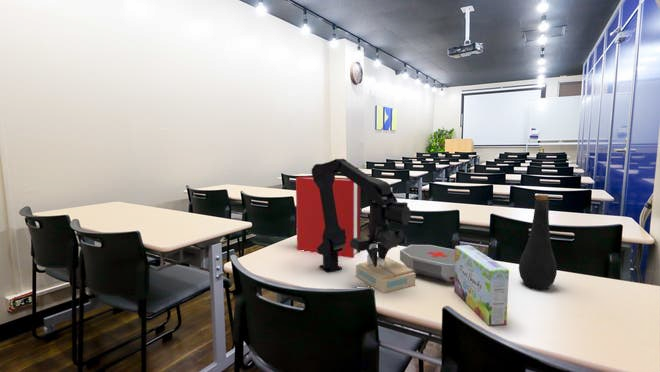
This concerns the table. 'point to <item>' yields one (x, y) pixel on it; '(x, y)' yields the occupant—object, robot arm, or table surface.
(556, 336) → the table surface
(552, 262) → the bottle
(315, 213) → the book
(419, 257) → the first aid kit
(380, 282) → the carton
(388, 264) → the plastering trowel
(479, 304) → the snack box
